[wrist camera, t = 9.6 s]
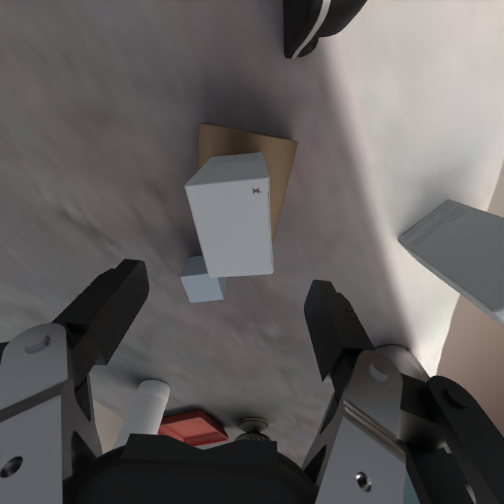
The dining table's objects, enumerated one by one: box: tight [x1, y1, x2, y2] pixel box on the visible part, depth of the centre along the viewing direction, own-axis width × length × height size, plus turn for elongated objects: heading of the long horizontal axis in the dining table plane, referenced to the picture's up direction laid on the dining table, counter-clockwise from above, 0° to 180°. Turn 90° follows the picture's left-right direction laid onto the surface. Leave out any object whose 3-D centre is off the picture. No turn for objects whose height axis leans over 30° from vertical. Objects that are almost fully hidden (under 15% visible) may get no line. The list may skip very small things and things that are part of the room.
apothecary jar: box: [235, 417, 271, 441], centre depth 59 cm, size 12×12×18 cm
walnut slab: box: [198, 123, 298, 243], centre depth 26 cm, size 10×12×4 cm
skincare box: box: [397, 200, 504, 327], centre depth 24 cm, size 8×6×15 cm
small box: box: [184, 152, 274, 278], centre depth 19 cm, size 8×6×10 cm
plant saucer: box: [157, 410, 229, 447], centre depth 65 cm, size 18×18×3 cm
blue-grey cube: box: [180, 256, 227, 303], centre depth 32 cm, size 5×5×5 cm
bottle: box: [112, 380, 170, 450], centre depth 41 cm, size 8×8×30 cm
